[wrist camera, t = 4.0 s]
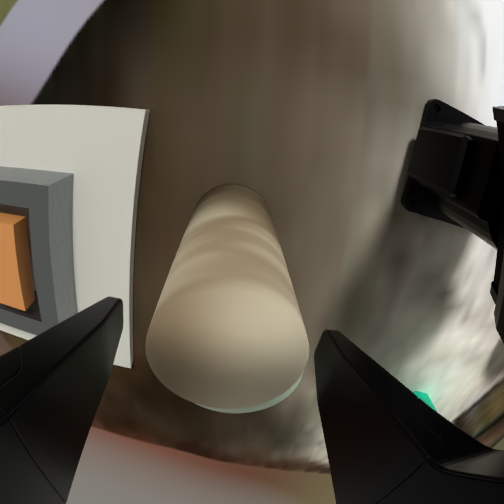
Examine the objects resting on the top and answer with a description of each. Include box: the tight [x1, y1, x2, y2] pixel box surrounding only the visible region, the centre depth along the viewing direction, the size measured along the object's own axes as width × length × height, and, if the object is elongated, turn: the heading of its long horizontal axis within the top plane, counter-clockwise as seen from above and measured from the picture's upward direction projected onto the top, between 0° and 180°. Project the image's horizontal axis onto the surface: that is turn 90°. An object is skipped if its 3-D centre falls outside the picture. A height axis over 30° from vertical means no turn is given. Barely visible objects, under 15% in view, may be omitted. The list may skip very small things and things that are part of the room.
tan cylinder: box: [145, 184, 309, 409], centre depth 12 cm, size 4×4×10 cm
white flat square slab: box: [0, 105, 150, 368], centre depth 15 cm, size 16×16×3 cm
